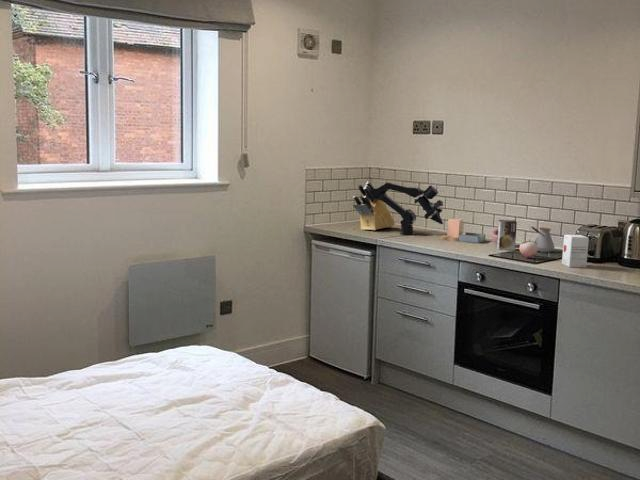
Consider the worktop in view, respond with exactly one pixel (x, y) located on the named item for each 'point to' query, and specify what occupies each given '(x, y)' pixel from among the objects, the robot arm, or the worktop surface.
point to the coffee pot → (544, 240)
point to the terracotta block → (454, 227)
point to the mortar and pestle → (495, 235)
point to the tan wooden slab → (448, 238)
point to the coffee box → (506, 235)
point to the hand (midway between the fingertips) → (442, 223)
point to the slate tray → (472, 237)
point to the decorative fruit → (528, 248)
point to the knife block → (372, 210)
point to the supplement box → (575, 250)
